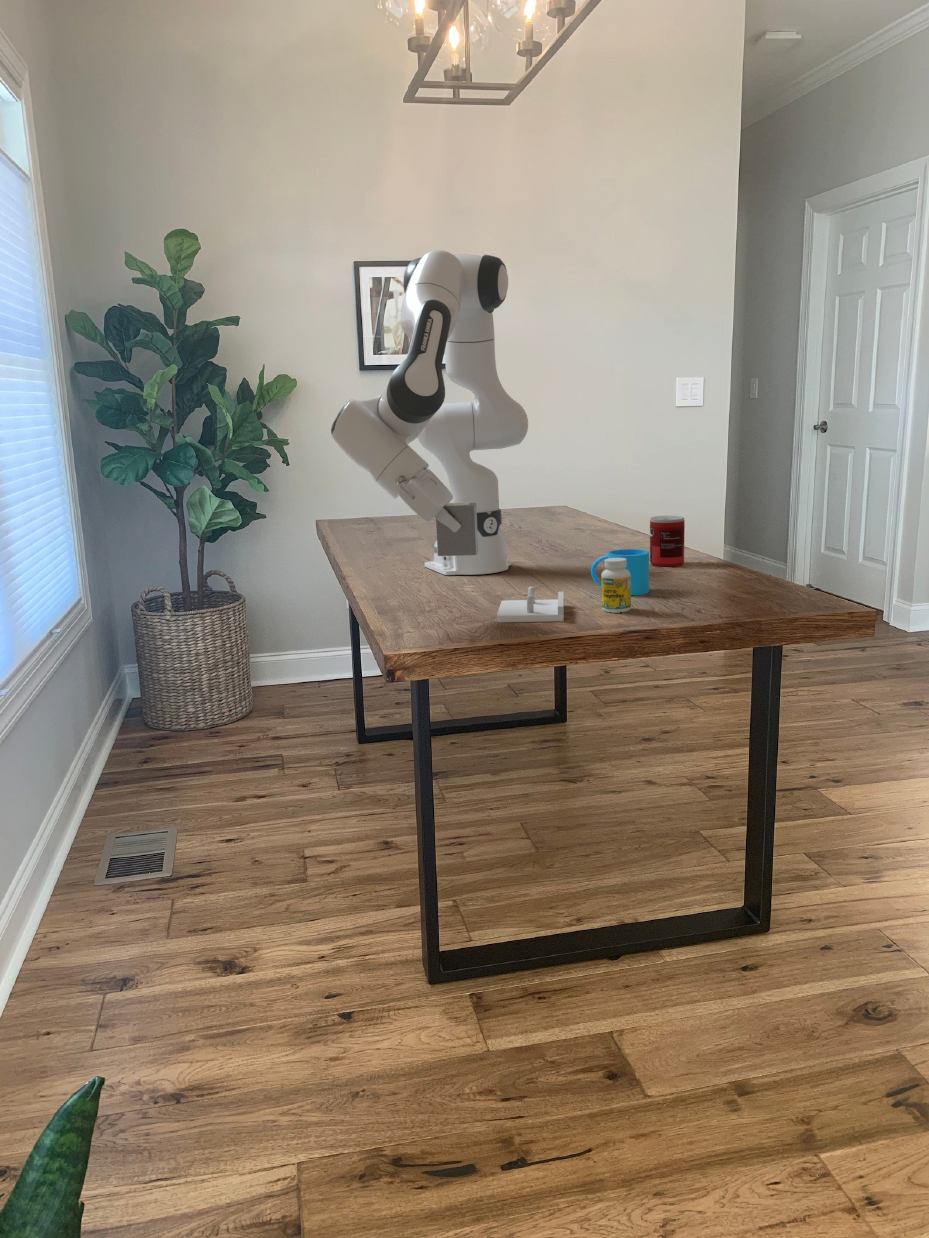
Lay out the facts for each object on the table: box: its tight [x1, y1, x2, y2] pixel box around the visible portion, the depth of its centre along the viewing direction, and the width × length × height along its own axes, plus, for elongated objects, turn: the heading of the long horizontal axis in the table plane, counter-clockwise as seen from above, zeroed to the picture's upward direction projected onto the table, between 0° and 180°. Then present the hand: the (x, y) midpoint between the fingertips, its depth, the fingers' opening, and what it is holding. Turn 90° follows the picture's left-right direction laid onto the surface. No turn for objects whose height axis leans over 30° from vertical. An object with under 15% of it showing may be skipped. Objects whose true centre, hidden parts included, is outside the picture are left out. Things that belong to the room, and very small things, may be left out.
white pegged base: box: [496, 586, 565, 623], centre depth 172 cm, size 12×13×4 cm
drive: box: [435, 502, 478, 556], centre depth 169 cm, size 7×4×9 cm, turn 84°
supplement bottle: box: [600, 558, 632, 614], centre depth 171 cm, size 5×5×10 cm
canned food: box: [649, 515, 686, 568], centre depth 213 cm, size 8×8×11 cm
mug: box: [590, 548, 650, 596], centre depth 187 cm, size 12×8×8 cm
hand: (460, 527), depth 168 cm, fingers closed on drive, 4 cm apart
